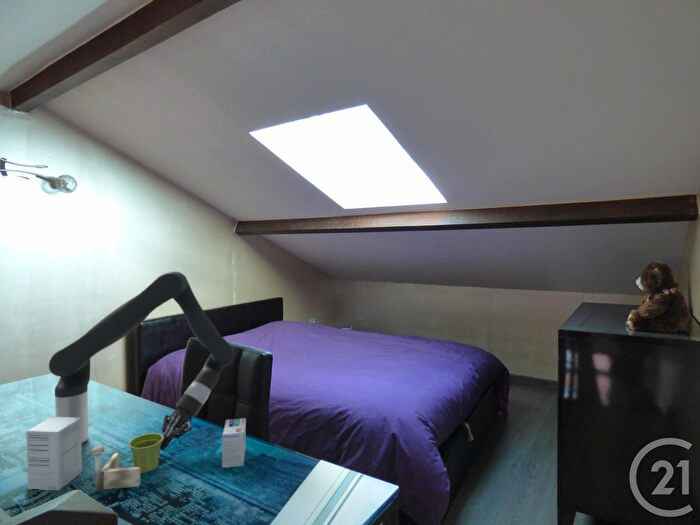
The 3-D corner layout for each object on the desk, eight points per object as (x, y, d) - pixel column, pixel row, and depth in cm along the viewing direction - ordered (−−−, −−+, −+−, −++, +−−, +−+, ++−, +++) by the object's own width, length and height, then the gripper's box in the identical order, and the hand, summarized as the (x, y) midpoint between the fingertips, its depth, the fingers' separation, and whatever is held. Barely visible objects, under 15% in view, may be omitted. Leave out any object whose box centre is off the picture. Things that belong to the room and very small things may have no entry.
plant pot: (139, 459, 124) (139, 432, 124) (169, 459, 125) (168, 432, 124) (122, 476, 115) (122, 448, 115) (154, 476, 115) (154, 448, 115)
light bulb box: (225, 450, 130) (225, 419, 130) (246, 448, 132) (246, 417, 131) (221, 468, 120) (221, 434, 120) (244, 466, 121) (244, 432, 121)
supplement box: (53, 470, 118) (52, 415, 117) (83, 471, 118) (82, 416, 117) (26, 490, 108) (24, 430, 108) (58, 491, 108) (57, 431, 107)
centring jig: (80, 484, 111) (80, 443, 111) (117, 468, 120) (117, 430, 119) (104, 503, 103) (103, 459, 103) (142, 484, 111) (141, 444, 111)
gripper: (175, 388, 134) (140, 438, 124) (199, 397, 126) (163, 450, 117) (189, 399, 139) (156, 447, 129) (213, 407, 131) (180, 460, 122)
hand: (160, 448), depth 123 cm, fingers closed
